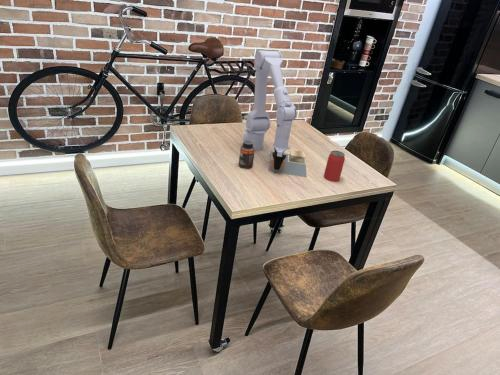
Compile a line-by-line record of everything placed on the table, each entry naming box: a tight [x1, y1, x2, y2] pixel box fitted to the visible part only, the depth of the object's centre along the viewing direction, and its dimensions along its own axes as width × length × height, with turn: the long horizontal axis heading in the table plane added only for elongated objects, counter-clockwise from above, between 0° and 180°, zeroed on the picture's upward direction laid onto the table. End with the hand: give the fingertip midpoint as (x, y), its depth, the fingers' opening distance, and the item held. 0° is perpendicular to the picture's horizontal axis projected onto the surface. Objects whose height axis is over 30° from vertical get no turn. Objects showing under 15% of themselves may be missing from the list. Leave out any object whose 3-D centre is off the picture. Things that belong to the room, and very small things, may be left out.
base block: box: [289, 149, 306, 164], centre depth 167 cm, size 6×6×3 cm
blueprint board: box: [267, 151, 308, 178], centre depth 164 cm, size 16×21×1 cm
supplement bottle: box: [238, 140, 256, 170], centre depth 154 cm, size 6×6×11 cm
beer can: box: [323, 150, 346, 183], centre depth 154 cm, size 7×7×12 cm
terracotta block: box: [270, 156, 286, 170], centre depth 158 cm, size 6×4×4 cm, turn 84°
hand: (277, 165), depth 158 cm, fingers open, 7 cm apart
